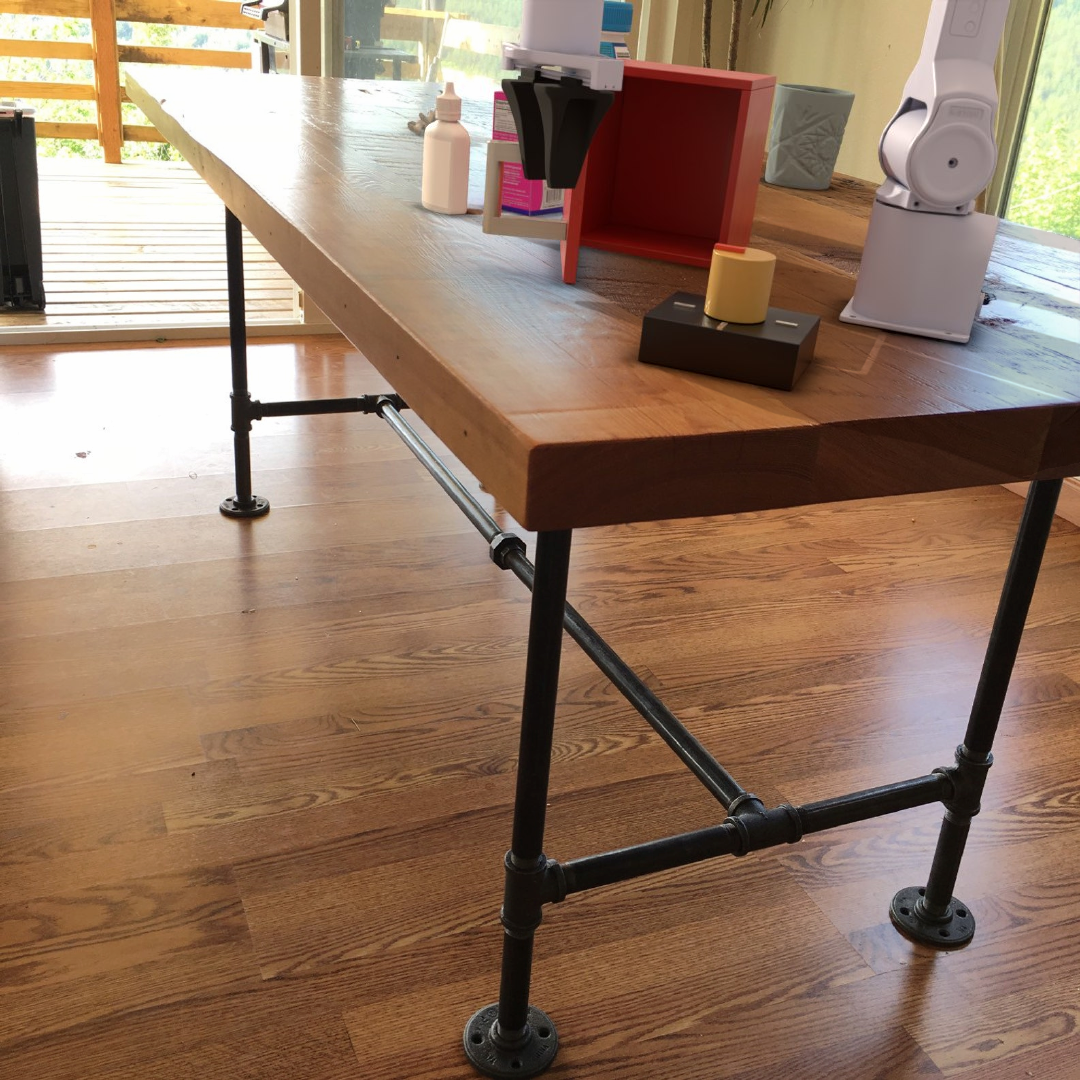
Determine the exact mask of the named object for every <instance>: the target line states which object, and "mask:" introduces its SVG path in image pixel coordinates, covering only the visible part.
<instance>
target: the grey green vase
mask: <svg viewBox="0 0 1080 1080" xmlns="http://www.w3.org/2000/svg"><path fill="white" fill-rule="evenodd" d="M855 97H856V93H854V92H851V91H846V90H843V89H839V88H838V89H837V88H831V87H825V86H817V85H807V84H796V83H776V85H775V92H774V101H773V112H772V122H771V128H770V131H769V132H770V133H769V141H768V151H767V158H766V167H765V175H764V179H765V182H767V183H769V184H772V185H775V186H780V187H784V188H791V189H800V190H814V191H815V190H816V191H819V190H820V191H822V190H827V189H829V188H830V185H831V181H832V178H833V175H834V171H835V166H836V164H837V160H838V157H839V154H840V150H841V145H842V143H843V139H844V135H845V133H846V129H845V128H846V127H847V124H848V121H849V117H850V115H851V111H852V108H853V106H854V105H853V104H854V101H855Z"/></svg>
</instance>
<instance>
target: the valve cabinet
mask: <svg viewBox="0 0 1080 1080" xmlns="http://www.w3.org/2000/svg"><path fill="white" fill-rule="evenodd" d="M618 60H624V70H623V80H622V90H621V91H613V90H606V91H610V92H614V93H615V96H614V103H613V104H612V105H611V107H610V108H609V110H608V111H607V113H606V114H605V116H604V117H603V119H602V121H601V122H600V124H599V126H598V128H597V130H596V132H595V134H594V136H593V139H592V141H591V144H590V146H589V151H588V161H587V171H586V181H585V191H584V201H583V212H582V222H581V232H580V242H579V247H585V248H589V249H596V250H601V251H606V252H612V253H619V254H625V255H630V256H635V257H636V256H637V257H641V258H648V259H654V260H660V261H666V262H672V263H678V264H683V265H689V266H695V267H699V268H700V267H701V268H707V269H711V262H712V256H713V250H714V246H715V244H716V243H720V244H726V245H732V246H738V247H747V248H750V241H751V235H752V228H753V224H754V223H753V222H754V218H755V212H756V205H757V200H758V199H757V198H758V193H759V188H760V181H761V176H762V175H761V174H762V169H763V163H764V156H765V150H766V145H767V139H768V133H769V132H768V131H769V126H770V121H771V114H772V109H773V104H774V98H775V92H776V85H777V78H778V77H777V75H770V74H763V73H753V72H746V71H745V72H744V71H736V70H727V69H717V68H710V67H701V66H692V65H683V64H674V63H665V62H657V61H650V60H641V59H633V58H632V59H618Z"/></svg>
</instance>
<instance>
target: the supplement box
mask: <svg viewBox="0 0 1080 1080" xmlns="http://www.w3.org/2000/svg"><path fill="white" fill-rule="evenodd" d="M492 107H493V108H492V109H493V110H492V111H493V112H492V135H491V137H492V138H491V140H502V141H513V142H519V141H518V136H517V131H516V126H515V122H514V118H513V115H512V112H511V109H510V106H509V103H508V101H507V99H506V96H505V94H504V92H503V90H495V91H493V106H492ZM564 193H565V189H551V188H548V187H547V181H546V180H527V179H525V178H524V173H523V167H522V163H511V162H504V177H503V192H502V207H501V211H506V212H511V213H514V214H519V215H521V216H526V217H536V216H543V215H550V214H555V213H556V214H557V213H563V204H564Z"/></svg>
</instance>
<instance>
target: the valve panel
mask: <svg viewBox="0 0 1080 1080" xmlns="http://www.w3.org/2000/svg"><path fill="white" fill-rule="evenodd" d="M705 302H706V295H704V294H698V293H692V292H686V291H681V290H677V291H675V292H674V293H673V294H671V295H670V296H668V297H667V298H665V299H664V300H663V301H662V302H660V303H659V304H658V305H656V306H655V307H654V308H652V309H651V310H649V311H648V312H646V314H644V315H643V317H642V325H641V333H640V341H639V348H638V357H637V361H638V362H644V363H647V364H653V365H657V366H662V367H668V368H673V369H678V370H683V371H689V372H693V373H697V374H703V375H707V376H708V375H709V376H713V377H718V378H723V379H727V380H731V381H732V380H733V381H737V382H742V383H747V384H748V383H749V384H752V385H758V386H761V387H768V388H773V389H776V390H777V389H778V390H783V391H788V392H791V391H792V390H793V388H794V387H795V385H796V384H797V382H798V381H799V379H800V378H801V377H802V375H803V373H804V372H805V371H806V369H807V368H808V366H809V365H810V363H811V362H812V361H813V359H814V355H815V349H816V345H817V344H816V343H817V339H818V335H819V330H820V324H821V320H822V316H821V315H816V314H810V313H805V312H800V311H794V310H788V309H783V308H778V307H777V308H776V307H771V306H768V308H767V314H766V319H765V320H764V321H762V322H759V323H734V322H728V321H723V320H719V319H716V318H713V317H711V316H709V315H707V314H706V313H705V312H704V308H705Z"/></svg>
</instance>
